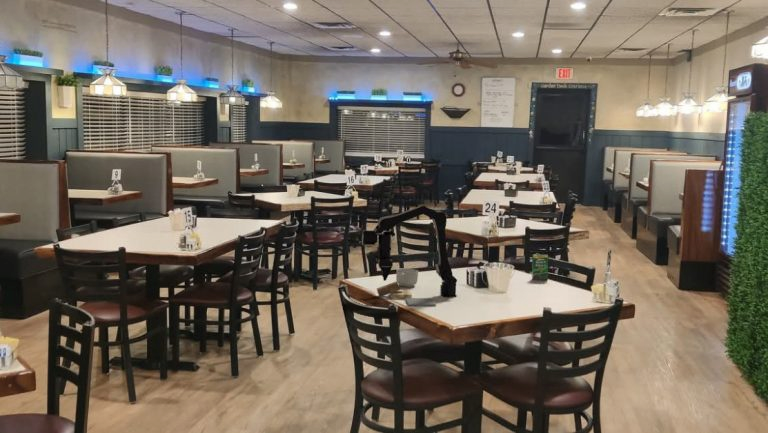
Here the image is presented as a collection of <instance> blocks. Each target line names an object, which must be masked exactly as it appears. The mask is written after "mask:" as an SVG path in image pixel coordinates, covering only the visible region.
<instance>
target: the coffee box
mask: <svg viewBox="0 0 768 433" xmlns="http://www.w3.org/2000/svg"><path fill="white" fill-rule="evenodd" d="M531 259H532V261H531V265H532V266H531V267H532V268H531V279H532V280H534V281H548V278H549V255H548V254H532V258H531Z"/></svg>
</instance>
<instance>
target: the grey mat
mask: <svg viewBox="0 0 768 433" xmlns="http://www.w3.org/2000/svg"><path fill="white" fill-rule="evenodd" d="M405 302H406V304H407V306H408V307H436V306H437V304H436V302H435V301H434V299H433V298H432V297H424V298H423V297H414V298H413V297H412V298H406V299H405Z"/></svg>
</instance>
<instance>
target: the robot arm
mask: <svg viewBox="0 0 768 433" xmlns="http://www.w3.org/2000/svg"><path fill="white" fill-rule="evenodd" d="M422 215H423V216H427V217H429V218H431V220H432V223H433V226H434V230H435V233H436V244H437V251H438V254H437V256H438V263H435V268H436V271H435V272H436V274H437V275H438V277H439V278H441V284H440V290H439V294H440V295H441V296H442V298H443V297H444V298H445V297H447V298H449V297H451V298H455V297H457V294H456V293H457V282H458V279H457V278H456V277H455V276H454V275H453V271H452V270H453V269H452V267H451V264H450V262H449V257H448V256H449V255H448V248H447V246H448V245H447V238H446V236H447V234H446V226H447V222H448V221H447V218H448V217H447V214H446V213H445V212H443V211H442V210H438V209H437V210H434V209H432V208H429V207H427V206H426V205H424V204H420V205H418V206H417V207H413V208H410V209H408V210H406V211H402V212H399V213H397V214H394V215H386V216H381V217H379V219H378V221H377V224H376V226H375V228H373V229H371V230H369V229H363V230H362V234H361V235H362V236H361V245H362V246H375V245H376V244H377V243H378V244H377V245H378V246H377V247H376V248H377V249H375V250H372V251H369V252H368V251H367V252H366V253H365V256H366V259H367V262H371V261H373V260H376V262H377V263H378V267H379V269H380V271H381V276H382V279H383V281H384V282H385V281H386V282H387V279H388V277H389V276H390V275H389V274H390V273H391V270H392V268H393V267H394V266H393V265H394V264H393V263H394V262H393V260H392V255H391V253H392V252H391V251H392V236H396V233H395V232H394V231H393V228H395V227H396V226H398V225H399V224H401V223H404V222H406V221H409V220H412V219H414V218H417V217H419V216H422Z"/></svg>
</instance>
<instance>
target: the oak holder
mask: <svg viewBox="0 0 768 433" xmlns="http://www.w3.org/2000/svg"><path fill="white" fill-rule="evenodd" d="M389 295H390V298H391V300H392V299H393V300H396V299H397V300H406V298H413V295H412V292H411V290H410V289H400V290H398V291H395V292H393V293H390V294H389Z"/></svg>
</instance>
